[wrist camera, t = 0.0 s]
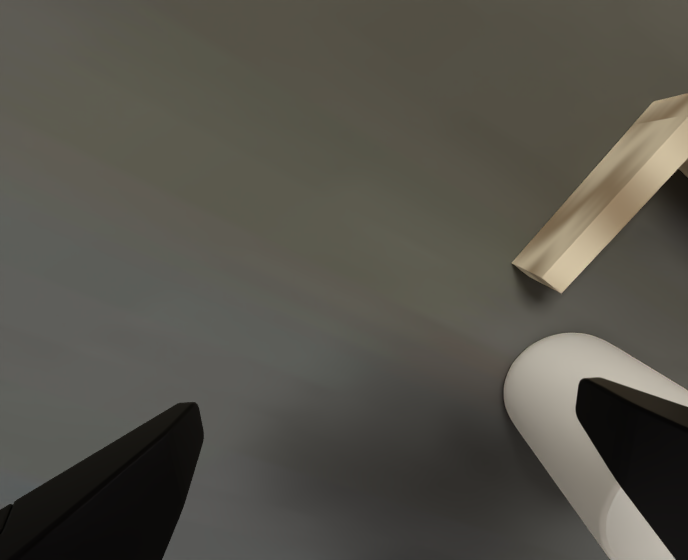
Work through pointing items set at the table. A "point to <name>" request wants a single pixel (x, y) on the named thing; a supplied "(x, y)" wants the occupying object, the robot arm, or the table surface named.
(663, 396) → the cup
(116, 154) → the table surface
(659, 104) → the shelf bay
